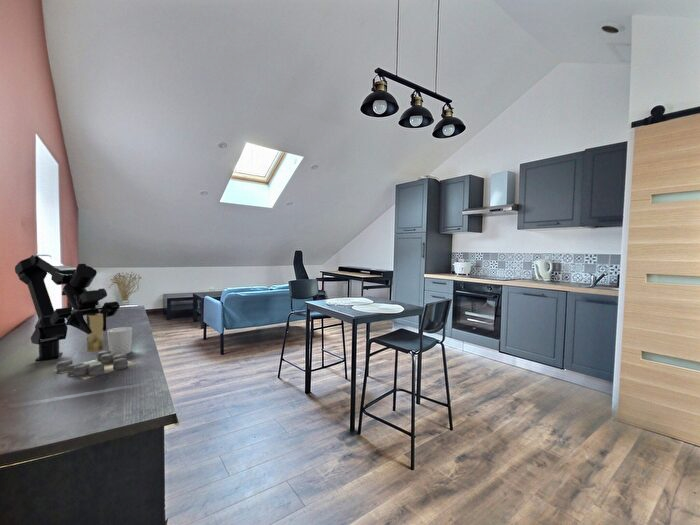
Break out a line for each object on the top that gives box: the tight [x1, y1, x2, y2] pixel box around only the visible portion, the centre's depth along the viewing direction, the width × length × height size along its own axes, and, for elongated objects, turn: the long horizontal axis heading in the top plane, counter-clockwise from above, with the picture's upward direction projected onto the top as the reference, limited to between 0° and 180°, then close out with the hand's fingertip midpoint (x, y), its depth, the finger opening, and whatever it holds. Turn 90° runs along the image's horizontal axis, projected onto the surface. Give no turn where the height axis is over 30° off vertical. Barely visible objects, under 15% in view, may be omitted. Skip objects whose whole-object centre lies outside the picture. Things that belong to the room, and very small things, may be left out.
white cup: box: [106, 326, 133, 355], centre depth 127 cm, size 8×8×10 cm
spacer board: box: [52, 350, 138, 380], centre depth 111 cm, size 19×16×3 cm
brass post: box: [86, 313, 104, 353], centre depth 111 cm, size 4×4×12 cm
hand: (97, 331), depth 110 cm, fingers closed on brass post, 4 cm apart
